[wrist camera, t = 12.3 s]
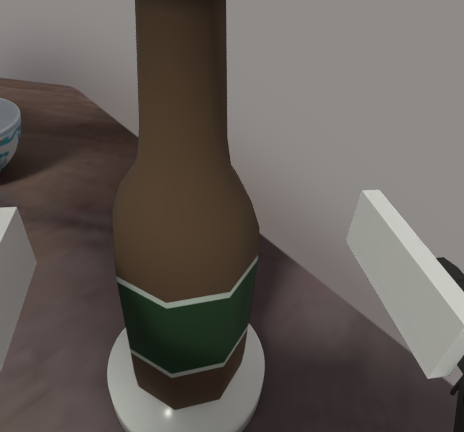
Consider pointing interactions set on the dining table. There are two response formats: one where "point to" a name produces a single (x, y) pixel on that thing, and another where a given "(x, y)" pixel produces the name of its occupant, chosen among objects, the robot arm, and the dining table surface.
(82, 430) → the dining table surface
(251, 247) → the beer bottle
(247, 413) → the plinth
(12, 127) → the chinaware
